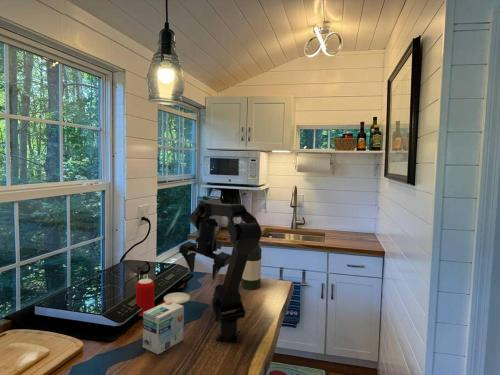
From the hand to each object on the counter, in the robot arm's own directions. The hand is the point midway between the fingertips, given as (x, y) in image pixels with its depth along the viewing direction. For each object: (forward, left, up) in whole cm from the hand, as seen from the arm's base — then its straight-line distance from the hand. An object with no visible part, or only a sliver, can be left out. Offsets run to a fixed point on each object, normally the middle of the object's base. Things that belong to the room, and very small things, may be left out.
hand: (202, 275), depth 127 cm
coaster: (+8, +13, -13) cm, 20 cm away
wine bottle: (+28, -13, -13) cm, 34 cm away
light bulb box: (-24, +5, -14) cm, 28 cm away
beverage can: (-7, +19, -13) cm, 24 cm away
